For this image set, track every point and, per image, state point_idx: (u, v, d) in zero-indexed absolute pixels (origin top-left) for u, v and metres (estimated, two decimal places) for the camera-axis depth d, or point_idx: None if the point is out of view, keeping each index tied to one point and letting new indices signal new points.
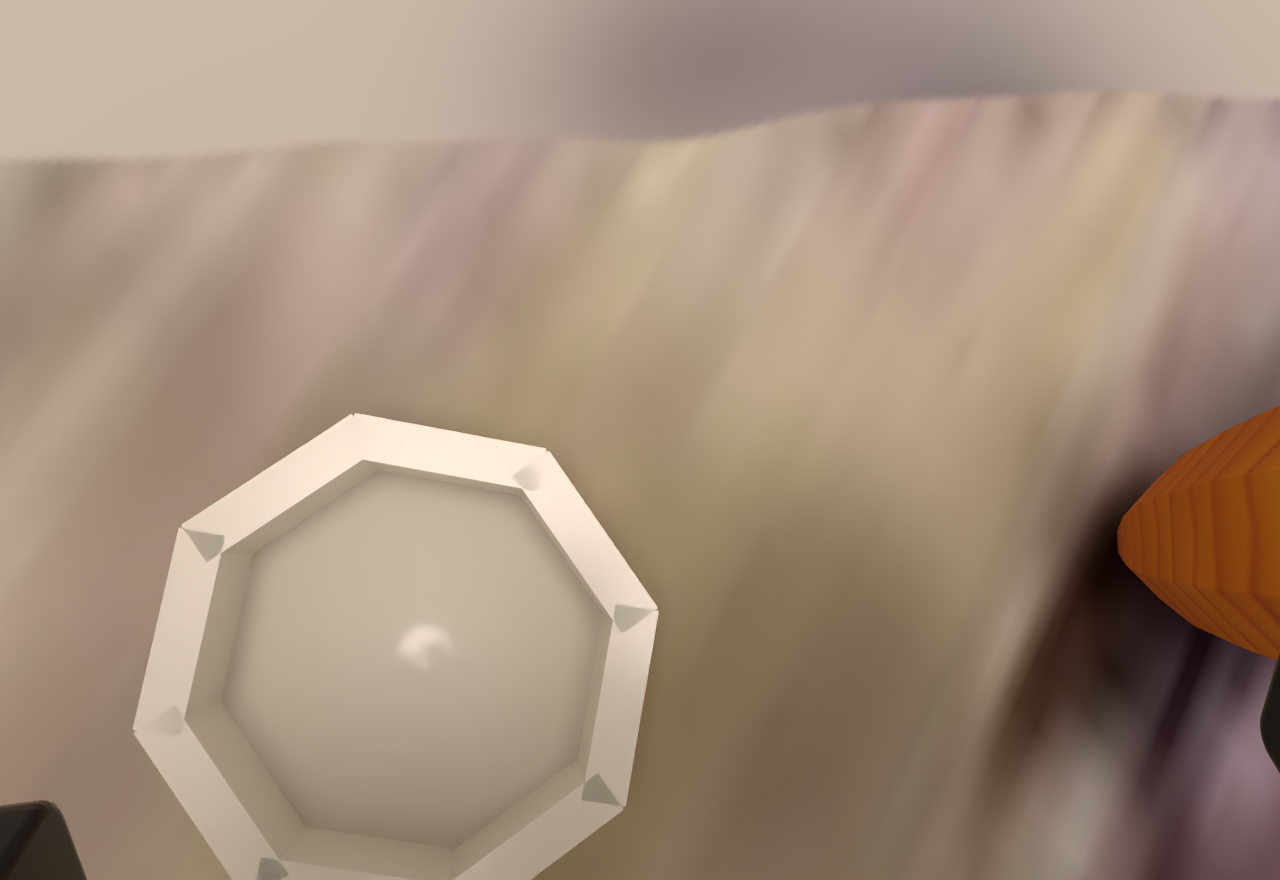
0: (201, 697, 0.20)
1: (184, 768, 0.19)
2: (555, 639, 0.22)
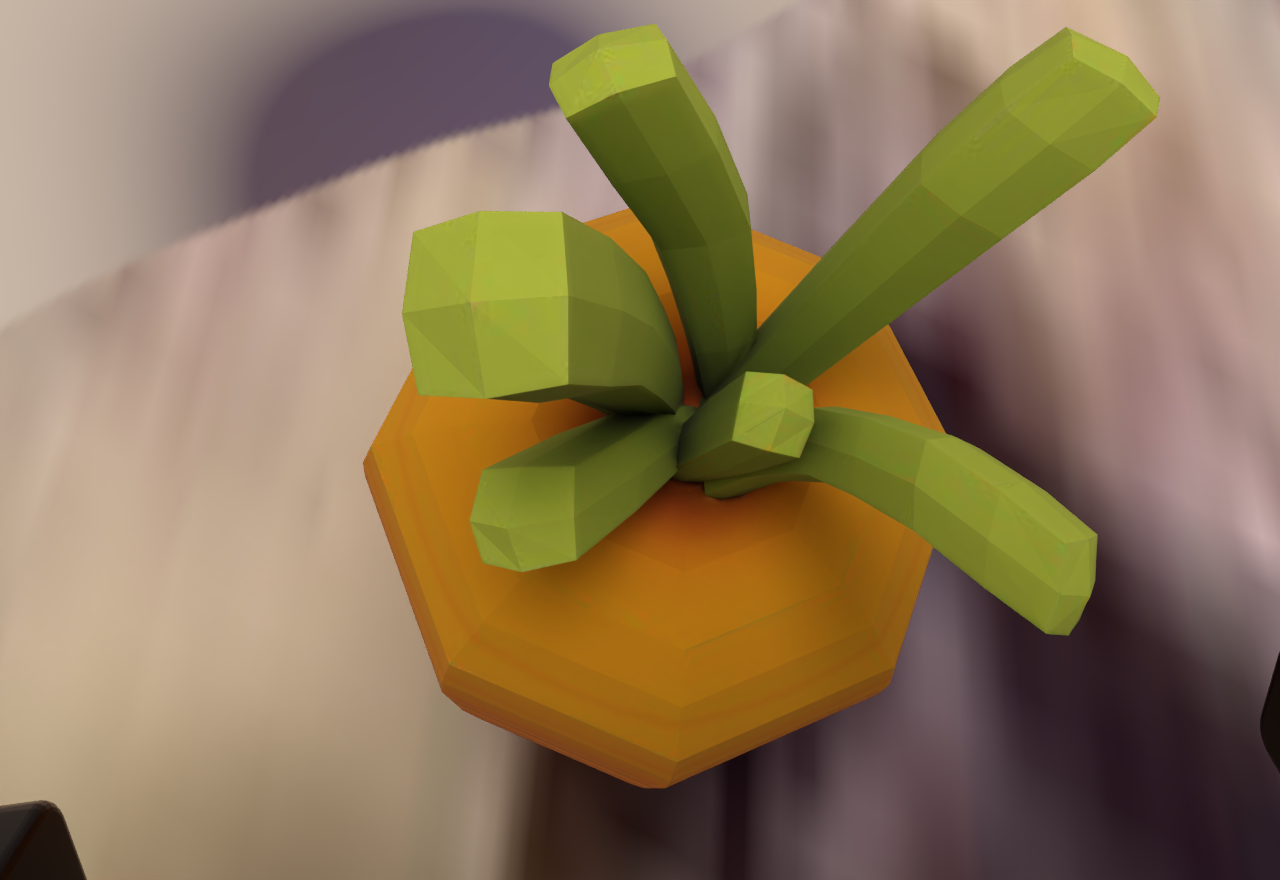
0: None
1: None
2: None
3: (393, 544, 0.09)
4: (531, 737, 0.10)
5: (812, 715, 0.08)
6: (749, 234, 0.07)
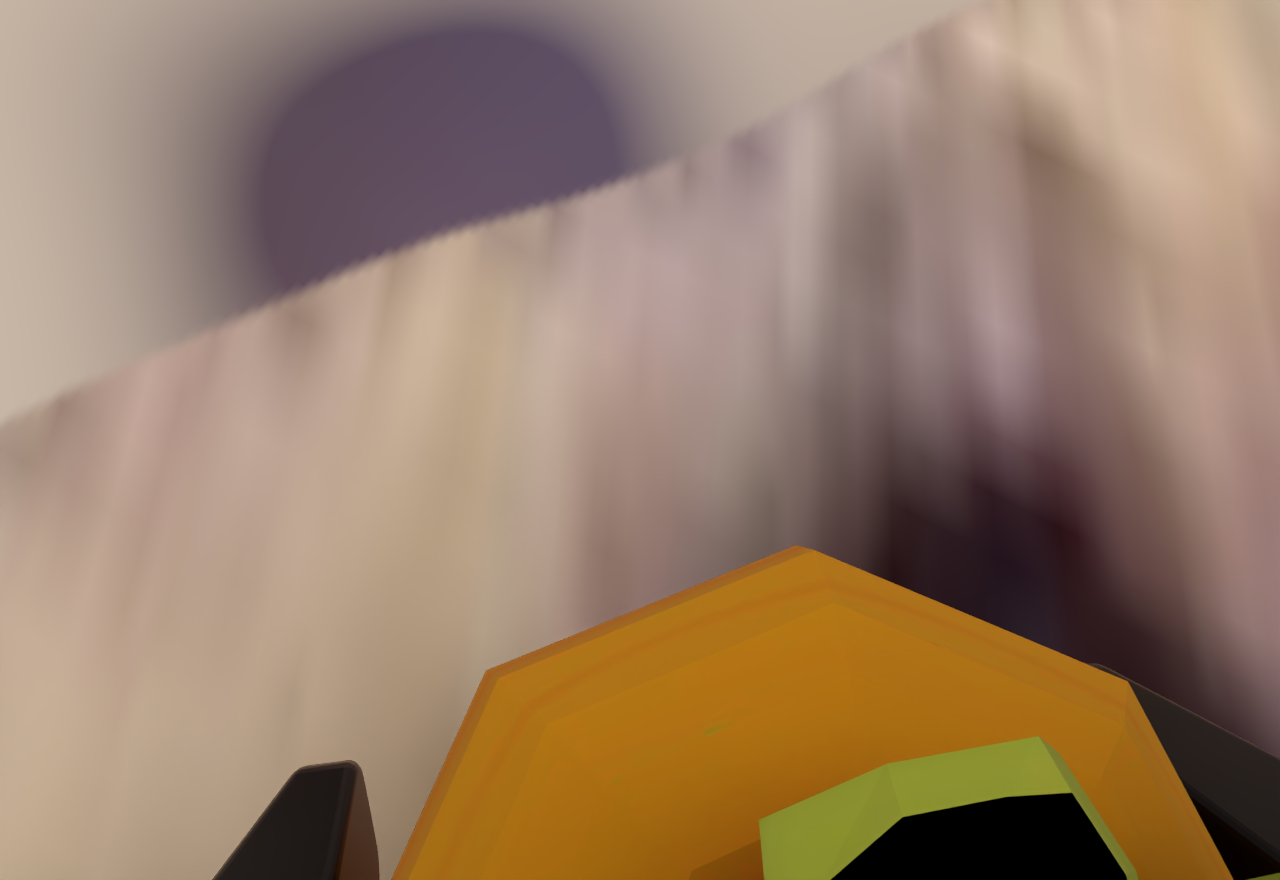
0: None
1: None
2: None
3: None
4: None
5: None
6: None
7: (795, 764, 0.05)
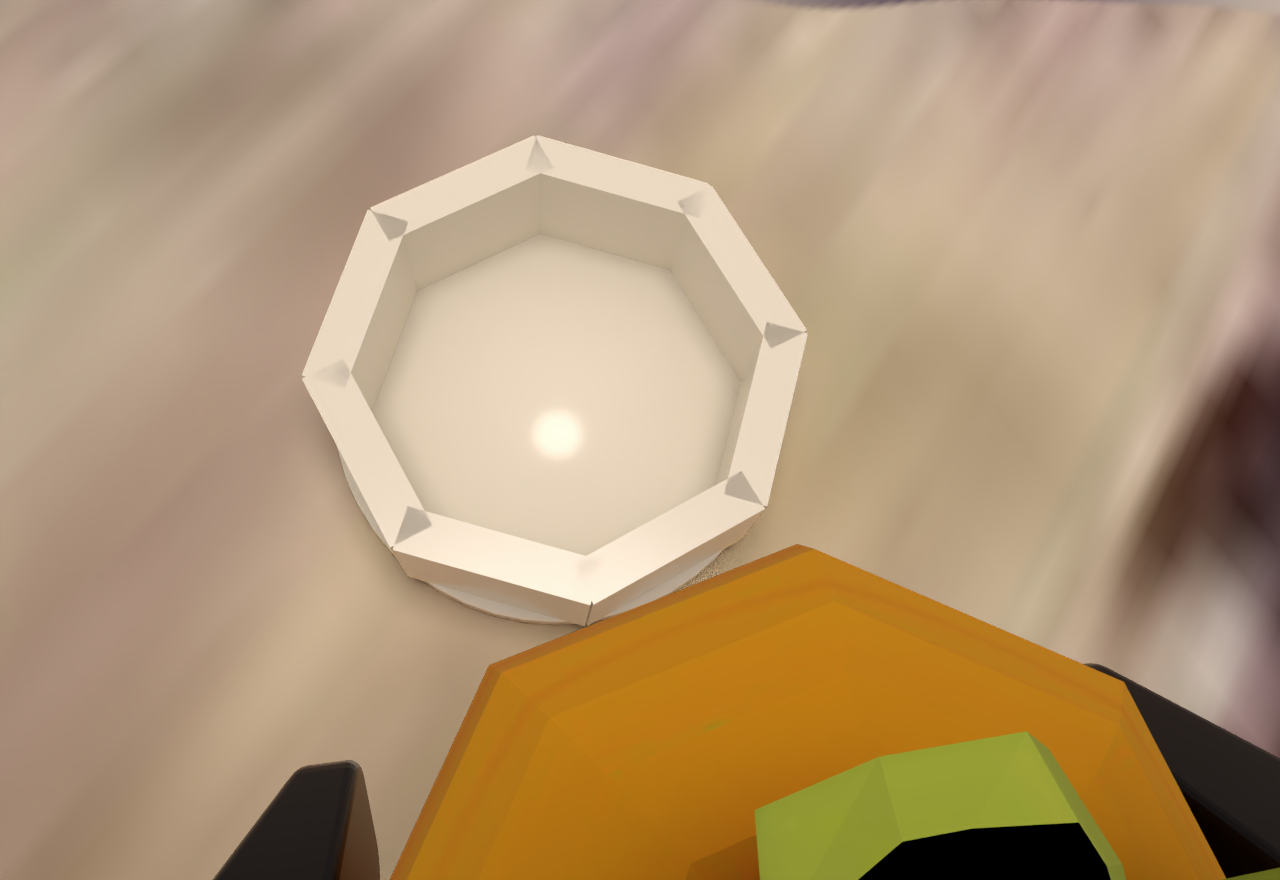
0: (362, 376, 0.20)
1: (345, 416, 0.19)
2: (694, 399, 0.23)
3: None
4: None
5: None
6: None
7: (793, 759, 0.05)
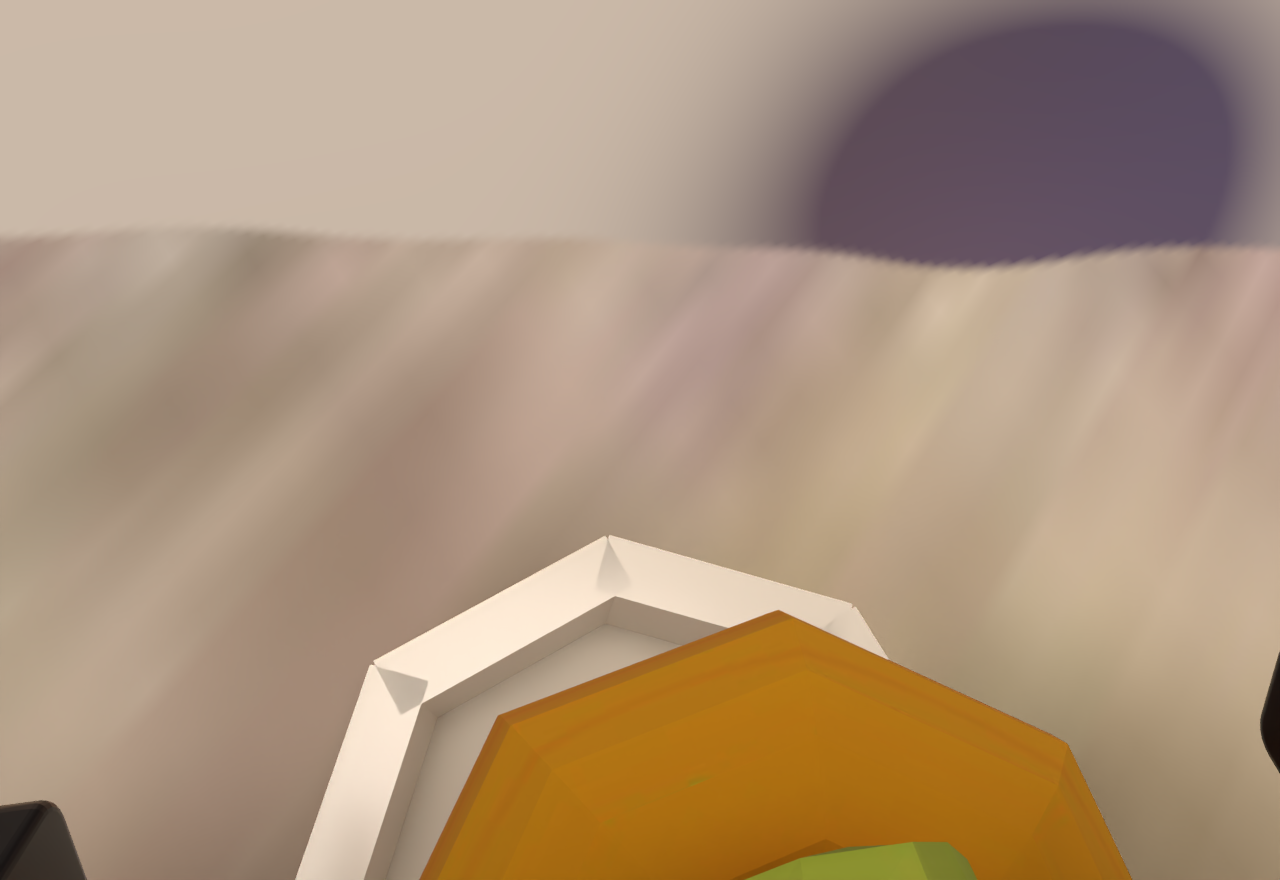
0: None
1: None
2: None
3: None
4: None
5: None
6: None
7: (764, 813, 0.06)
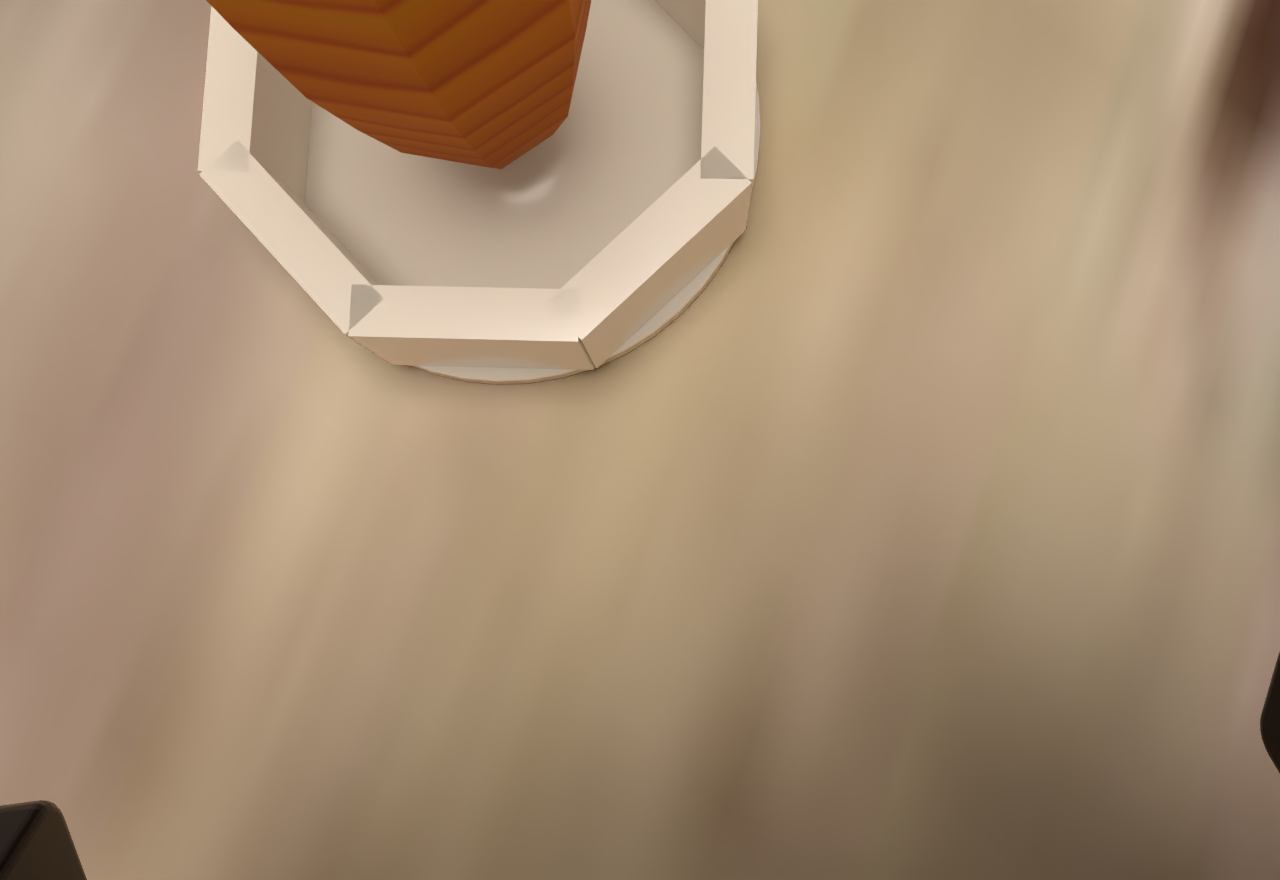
0: (271, 156, 0.18)
1: (257, 203, 0.17)
2: (656, 86, 0.19)
3: None
4: (279, 13, 0.11)
5: None
6: None
7: None
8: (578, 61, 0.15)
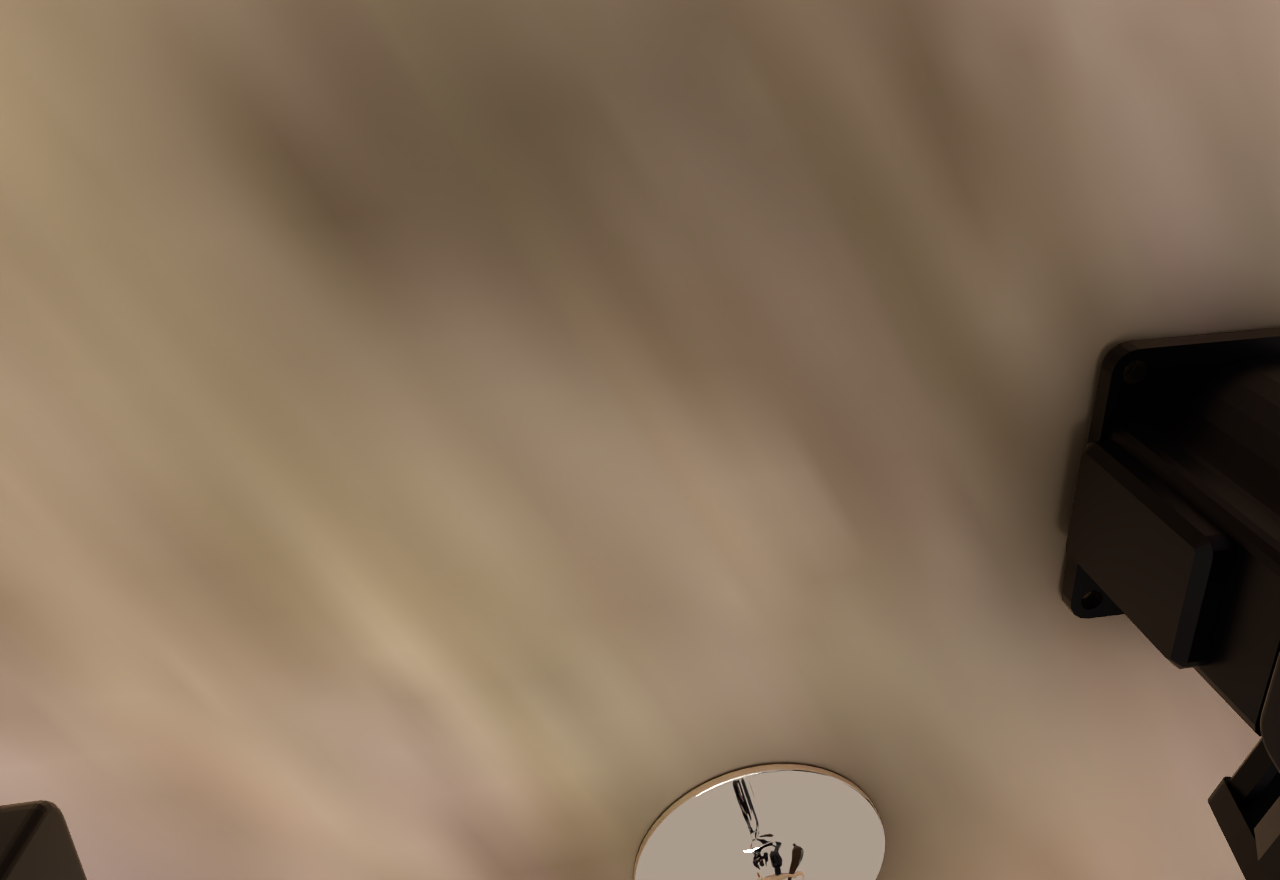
0: None
1: None
2: None
3: None
4: None
5: None
6: None
7: None
8: None
